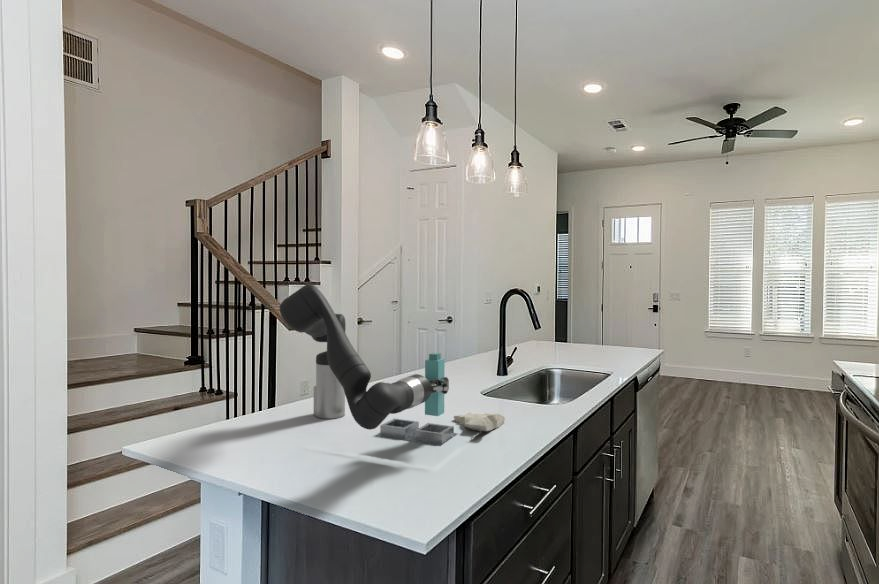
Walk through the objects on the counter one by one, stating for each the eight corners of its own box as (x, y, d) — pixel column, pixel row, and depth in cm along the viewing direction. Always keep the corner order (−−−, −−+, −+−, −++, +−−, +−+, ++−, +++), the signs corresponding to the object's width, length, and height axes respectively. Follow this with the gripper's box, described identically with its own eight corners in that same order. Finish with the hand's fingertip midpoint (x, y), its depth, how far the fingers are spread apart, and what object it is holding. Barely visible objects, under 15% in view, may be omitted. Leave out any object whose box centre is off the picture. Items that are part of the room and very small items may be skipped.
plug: (424, 414, 143) (425, 354, 142) (431, 411, 146) (431, 352, 146) (438, 416, 141) (438, 355, 141) (444, 412, 145) (444, 353, 144)
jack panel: (375, 440, 145) (375, 427, 145) (396, 428, 156) (396, 416, 156) (440, 450, 137) (440, 436, 137) (458, 437, 148) (458, 424, 148)
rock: (437, 434, 152) (484, 437, 145) (437, 418, 152) (483, 420, 145) (469, 422, 171) (512, 424, 163) (468, 407, 171) (511, 409, 164)
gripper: (435, 379, 127) (462, 368, 143) (385, 374, 133) (416, 365, 149) (435, 409, 128) (462, 396, 143) (385, 403, 134) (416, 391, 149)
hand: (438, 380), depth 146 cm, fingers closed on plug, 4 cm apart
